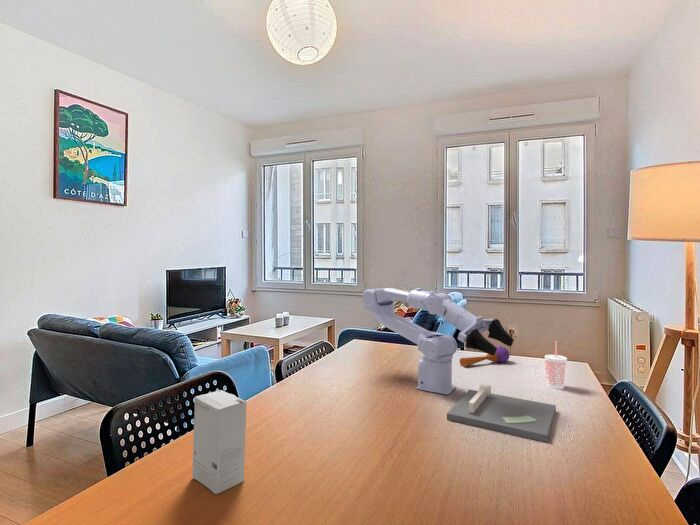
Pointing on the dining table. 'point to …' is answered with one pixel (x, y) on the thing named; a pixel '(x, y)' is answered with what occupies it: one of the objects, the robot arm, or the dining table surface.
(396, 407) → the dining table surface
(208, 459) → the skincare box
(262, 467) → the dining table surface
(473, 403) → the cream bar
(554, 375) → the beverage cup
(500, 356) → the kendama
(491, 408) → the board
